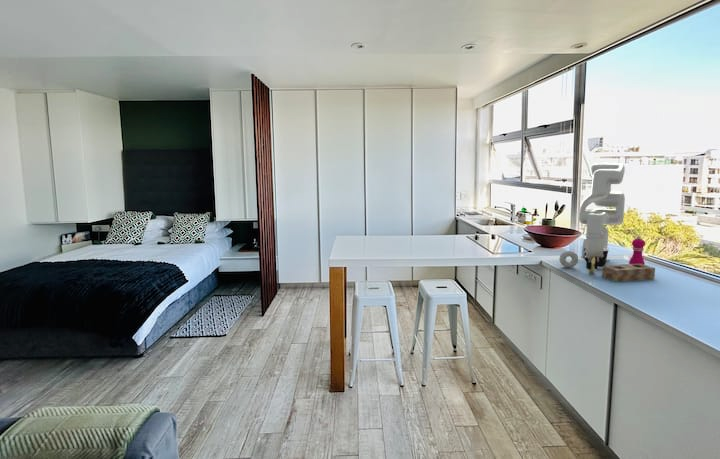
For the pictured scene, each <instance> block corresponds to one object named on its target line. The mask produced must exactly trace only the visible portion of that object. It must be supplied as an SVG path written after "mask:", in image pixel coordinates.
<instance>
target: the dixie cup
mask: <svg viewBox="0 0 720 459" xmlns="http://www.w3.org/2000/svg"><path fill="white" fill-rule="evenodd" d="M608 253H609V248H608V247H607V248H603V254H604V257H602V258H601V259H600V260H599V262H598V266H597V269H602V270H603V266H606V262H607V261H606V259H607V257H608Z"/></svg>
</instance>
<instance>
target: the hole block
mask: <svg viewBox="0 0 720 459" xmlns="http://www.w3.org/2000/svg"><path fill="white" fill-rule="evenodd" d="M655 274H656V267H653V266H650V265H646V264H645V265H644V264H640V263H637V264H629V263H624V264H622V263H621V264H607V265H605V266H603V269H602V274H601V277H602V278H604V279H608V280H610V281H612V280H613V282H615V281H616V282H615V283H618V282H619V281H622V282H635V280H636V281H645V280H646V281H647V280H655ZM619 283H620V282H619Z"/></svg>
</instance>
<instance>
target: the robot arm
mask: <svg viewBox="0 0 720 459" xmlns="http://www.w3.org/2000/svg"><path fill="white" fill-rule="evenodd" d="M625 170H626V169H625V165H624V163H620V162H611V163H609V162H603V163H602V162H600V163H593V164H591V166H590V170H589V171H590V174H591V177H592V182H591V188H590V189H591V190H590V194H589V195H588V196H587V197H586V198H584V199H583V201H582V202H581V204H580V206H579V212H578V213H579V214H578V221H579V223H581V224H582V225H586V233H585V237H584V239H583V243H582V247H581V256H580V258H582V259H583V260H584V261H585V263H586V264H585V269H587V270H588V269H589V270H591V265H592V263H591V257H596V259H595V270H597V269H598V268H597V266H598V262H599V260H600V259H601V258H602V257H604V254H603V248H607V249H608V243H609V242H608V241H609V230H608V229H607V227H606V226H607V225H610V226H620V225H622V224H623V223H624V214H625V204H626V203H625V201H626V197H625V194H624V193H623V192H622V191H618V190H616V191H615V190H612V185H620V184H622V182H623V179H624V175H625ZM592 203H594V205H595V206H596V207H600V208H594V209H592V210H586V209H587V207H588V206H590V205H591V204H592ZM601 207H603V208H601ZM605 207H606V208H605ZM611 208H612V209H611ZM605 225H606V226H605ZM608 261H610V257H608V256H607V259H606V262H608Z"/></svg>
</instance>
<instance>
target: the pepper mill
mask: <svg viewBox="0 0 720 459" xmlns="http://www.w3.org/2000/svg"><path fill="white" fill-rule="evenodd" d="M631 245H632V250H633V251H632V255H631V258H630V259H629V262H628V264H637V263H640V264H644V265H646V264H645V259H644V257H643V251H644V247H645V245H646V241H645V240H644V239H643V238H642V237H641V236H640V235H638V236H637V238H635V239H633V240H632V242H631Z"/></svg>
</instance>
